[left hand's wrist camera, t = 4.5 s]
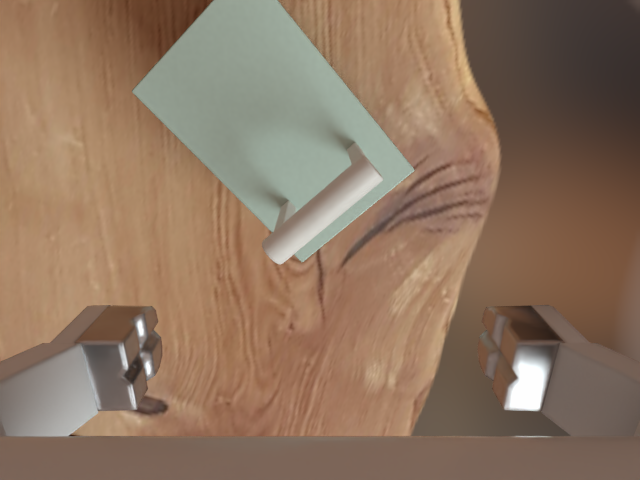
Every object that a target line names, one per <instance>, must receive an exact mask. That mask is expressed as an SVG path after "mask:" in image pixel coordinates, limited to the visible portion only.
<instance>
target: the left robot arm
mask: <svg viewBox="0 0 640 480" xmlns="http://www.w3.org/2000/svg"><path fill="white" fill-rule="evenodd" d="M157 323H158V319H157V314H156V310H155V309H154V308H153V307H152V306H114V305H113V306H111V305H93V306H87V307H86V308H85V309H84V310H83V311H82V312H81V313H80V314H79V315H78V316H77V317H76V318H75V319H74V320H73V321H72V322H71V323H70V324H69V325H68V326H67V327H66V328H65V329H64V330H63V331H62V332H61V333H60V334H59V335H58V336H57V337H56V338H55V339H54V340H53V341H52V342H51V343H42V344H40V345H38V346H35V347H33V348H31V349H29V350H26V351H24V352H22V353H19V354H17V355H15V356H13V357H10V358H8V359H6V360H3V361H1V362H0V480H640V362H639V361H636V360H634V359H632V358H630V357H627V356H625V355H623V354H620V353H618V352H616V351H614V350H611V349H609V348H607V347H604V346H602V345H600V344H598V343H589V342H588V341H587V340H586V339H585V338H584V337H583V336H582V335H581V334H580V333H579V332H578V331H577V330H576V329H575V328H574V327H573V326H572V325H571V324H570V323H569V322H568V321H567V320H566V319H565V318H564V317H563V316H562V315H561V314H560V313H559V312H558V311H557V310H556V309H555V308H554V307H552V306H549V305H535V306H497V307H486V309H485V311H484V313H483V318H482V323H483V324H484V326H485V328H486V329H487V330H486V331H485V332H484V333H483V334H482V335H481V336H480V337H479V342H478V359H479V363H480V366H481V369H482V371H483V373H484V375H485V376H486V377H488V378H489V379H491V380H492V381H494V382H493V387H492V389H493V391H494V393H495V395H496V397H497V398H498V400H499V402H500V404H501V406H502V407H503V409H504V410H524V411H542V413H543V414H544V415H545V416H547V417H548V418H549V419H551V420H552V421H553V422H554V423H556V424H557V425H558V426H559V427H561V428H562V429H563V430H565V431H566V432H567V433H569V434H570V435H571V436H69V435H70V434H72V433H73V432H74V431H76V430H77V429H78V428H79V427H81V426H82V425H83V424H85V423H86V422H87V421H88V420H90V419H91V418H92V417H94V416H95V415H96V414H97V413H98V411H115V410H136V409H137V408H138V406H139V404H140V402H141V400H142V399H143V397H144V395H145V393H146V391H147V389H148V387H147V381H148V380H149V379H151V378H152V377H154V376H155V375H156V373H157V371H158V369H159V367H160V363H161V358H162V341H161V337H160V336H159V335H158V334H157V333H156V332H155V331H154V330H153V329H154V328H155V326H156V325H157Z"/></svg>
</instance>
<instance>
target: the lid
mask: <svg viewBox="0 0 640 480" xmlns="http://www.w3.org/2000/svg"><path fill="white" fill-rule="evenodd" d="M132 92H133V94H134V95H135V96H136V97H137V98H138V99H139V100H140V101H141V102H142V103H143V104H144V105H145V106H146V107H147V108H148V109H149V110H150V111H151V112H152V113H153V114H154V115H155V116H156V117H157V118H158V119H159V120H160V121H161V122H162V123H163V124H164V125H165V126H166V127H167V128H168V129H169V130H170V131H171V132H172V133H173V134H174V135H175V136H176V137H177V138H178V139H179V140H180V141H181V142H182V143H183V144H184V145H185V146H186V147H187V148H188V149H189V150H190V151H191V152H192V153H193V154H194V155H195V156H196V157H197V158H198V159H199V160H200V161H201V162H202V163H203V164H204V165H205V166H206V167H207V168H208V169H209V170H210V171H211V172H212V173H213V174H214V175H215V176H216V177H217V178H218V179H219V180H220V181H221V182H222V183H223V184H224V185H225V186H226V187H227V188H228V189H229V190H230V191H231V192H232V193H233V194H234V195H235V196H236V197H237V198H238V199H239V200H240V201H241V202H242V203H243V204H244V205H245V206H246V207H247V208H248V209H249V210H250V211H251V212H252V213H253V214H254V215H255V216H256V217H257V218H258V219H259V220H260V221H261V222H262V223H263V224H264V225H265V226H266V227H267V228H268V229H269V230H270V231H271V232H272V234H270V235H269V236H268V237H267V238H266V239H265V240H263V242H262V247H263V249H264V251H265V253H266V254H267V255H268V256H269V258H270V259H272V260H273V261H274V262H275V263H277V264H283V263H284V262H285V261H286V260H287V259H289V258H290V257H291V256H292V255H293V254H294V255H295V256H296V257H297V258H298V259H299V260H300V261H301V262H303V261H304V260H306V259H307V258H308V257H309V256H311V255H312V254H313V253H314V252H315V251H317V250H318V249H319V248H320V247H322V246H323V245H324V244H325V243H326V242H328V241H329V240H330V239H331V238H333V237H334V236H335V235H336V234H337V233H339V232H340V231H341V230H342V229H344V228H345V227H346V226H347V225H349V224H350V223H351V222H352V221H353V220H355V219H356V218H357V217H358V216H360V215H361V214H362V213H363V212H364V211H366V210H367V209H368V208H369V207H371V206H372V205H373V204H374V203H375V202H377V201H378V200H379V199H380V198H382V197H383V196H384V195H385V194H386V193H388V192H389V191H390V190H391V189H393V188H394V187H395V186H396V185H397V184H399V183H400V182H401V181H402V180H404V179H405V178H406V177H407V176H409V175H410V174H411V173H412V172H413V171H414V168H413V167H412V166H411V165H410V163H409V162H408V161H407V160H406V158H405V157H404V156H403V155H402V153H401V152H400V151H399V150H398V148H397V147H396V146H395V145H394V144H393V142H392V141H391V140H390V139H389V137H388V136H387V135H386V134H385V132H384V131H383V130H382V129H381V127H380V126H379V125H378V124H377V123H376V121H375V120H374V119H373V118H372V116H371V115H370V114H369V113H368V111H367V110H366V109H365V108H364V106H363V105H362V104H361V103H360V101H359V100H358V99H357V98H356V97H355V95H354V94H353V93H352V92H351V90H350V89H349V88H348V87H347V85H346V84H345V83H344V82H343V80H342V79H341V78H340V77H339V76H338V74H337V73H336V72H335V71H334V69H333V68H332V67H331V66H330V64H329V63H328V62H327V61H326V59H325V58H324V57H323V56H322V55H321V53H320V52H319V51H318V50H317V48H316V47H315V46H314V45H313V43H312V42H311V41H310V40H309V38H308V37H307V36H306V35H305V34H304V32H303V31H302V30H301V29H300V27H299V26H298V25H297V24H296V22H295V21H294V20H293V19H292V17H291V16H290V15H289V14H288V12H287V11H286V10H285V9H284V8H283V6H282V5H281V4H280V3H279V1H278V0H213V1H212V2H211V3H210V4H209V5H208V7H207V8H206V9H205V10H204V11H203V12H202V13H201V14H200V15H199V17H198V18H197V19H196V20H195V21H194V22H193V23H192V24H191V25H190V27H189V28H188V29H187V30H186V31H185V32H184V33H183V34H182V35H181V37H180V38H179V39H178V40H177V41H176V42H175V43H174V44H173V45H172V47H171V48H170V49H169V50H168V51H167V52H166V53H165V54H164V55H163V57H162V58H161V59H160V60H159V61H158V62H157V63H156V64H155V66H154V67H153V68H152V69H151V70H150V71H149V72H148V73H147V74H146V76H145V77H144V78H143V79H142V80H141V81H140V82H139V83H138V84H137V86H136V87H135V88H134V89H133V90H132Z"/></svg>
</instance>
